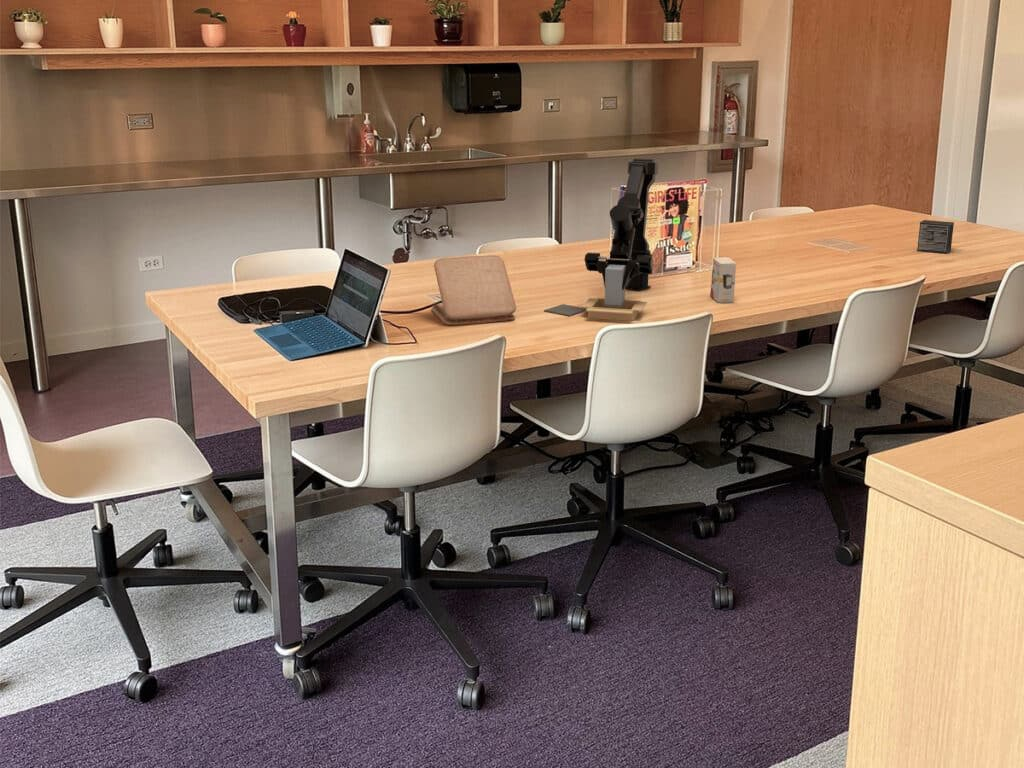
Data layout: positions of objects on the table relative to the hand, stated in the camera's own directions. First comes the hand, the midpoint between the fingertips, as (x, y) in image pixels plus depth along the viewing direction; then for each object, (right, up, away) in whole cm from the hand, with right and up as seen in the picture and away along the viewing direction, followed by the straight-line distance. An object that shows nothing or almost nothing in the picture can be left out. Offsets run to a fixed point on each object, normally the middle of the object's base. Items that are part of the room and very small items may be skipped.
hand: (614, 288), depth 310 cm
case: (-39, -7, +4) cm, 40 cm away
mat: (-13, -6, +8) cm, 16 cm away
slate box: (0, -6, +4) cm, 7 cm away
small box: (+121, +20, +86) cm, 150 cm away
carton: (0, -7, +4) cm, 8 cm away
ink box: (+34, -2, +20) cm, 39 cm away
